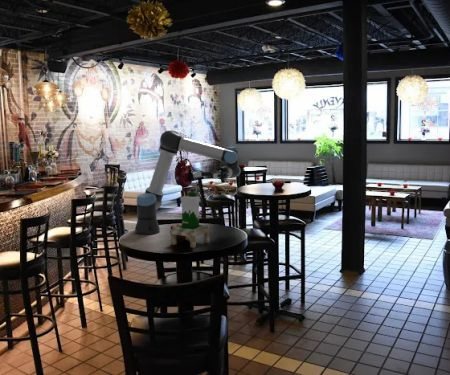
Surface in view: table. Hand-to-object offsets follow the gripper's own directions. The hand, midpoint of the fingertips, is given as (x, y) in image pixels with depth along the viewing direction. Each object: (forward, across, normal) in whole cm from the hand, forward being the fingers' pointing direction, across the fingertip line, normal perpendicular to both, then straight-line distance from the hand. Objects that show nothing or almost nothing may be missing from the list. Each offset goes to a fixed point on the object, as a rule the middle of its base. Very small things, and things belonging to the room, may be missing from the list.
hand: (203, 175), depth 265 cm
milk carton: (+17, -2, -28) cm, 33 cm away
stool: (+17, -2, -36) cm, 40 cm away
